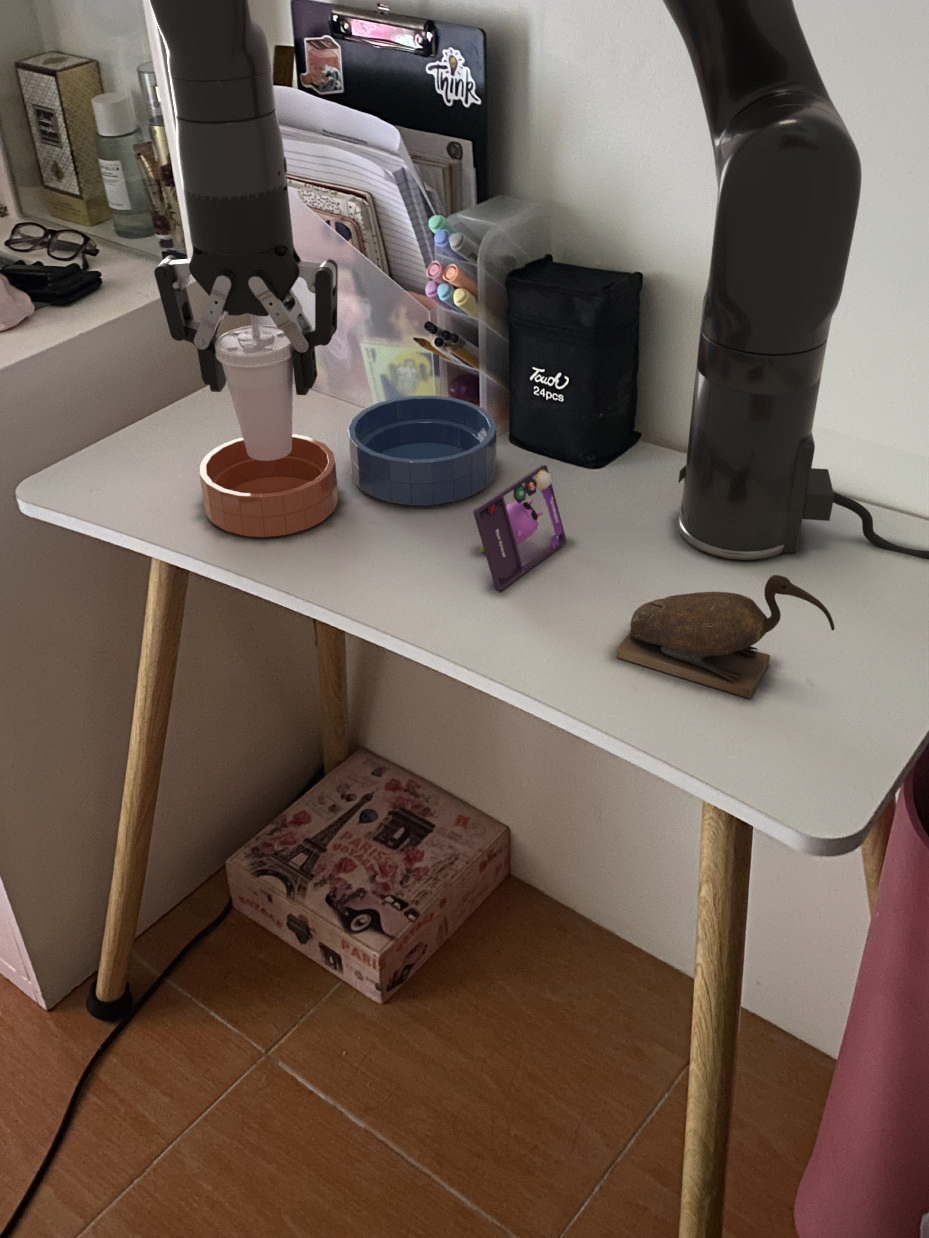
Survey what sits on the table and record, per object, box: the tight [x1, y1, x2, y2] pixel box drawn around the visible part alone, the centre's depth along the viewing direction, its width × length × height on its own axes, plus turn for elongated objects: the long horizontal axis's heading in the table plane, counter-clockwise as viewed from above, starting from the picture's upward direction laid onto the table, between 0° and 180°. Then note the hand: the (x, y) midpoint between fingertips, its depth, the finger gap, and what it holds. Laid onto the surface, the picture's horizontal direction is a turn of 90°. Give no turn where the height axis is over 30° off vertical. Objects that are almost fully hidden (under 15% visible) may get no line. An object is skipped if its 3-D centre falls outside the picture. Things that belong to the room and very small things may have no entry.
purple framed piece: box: [472, 464, 567, 591], centre depth 96 cm, size 7×5×9 cm
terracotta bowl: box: [198, 433, 339, 538], centre depth 103 cm, size 11×11×4 cm
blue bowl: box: [347, 395, 497, 506], centre depth 107 cm, size 13×13×4 cm
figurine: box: [615, 574, 836, 699], centre depth 83 cm, size 14×4×9 cm, turn 61°
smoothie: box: [215, 314, 295, 461], centre depth 97 cm, size 6×6×14 cm
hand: (261, 389), depth 98 cm, fingers closed on smoothie, 6 cm apart
